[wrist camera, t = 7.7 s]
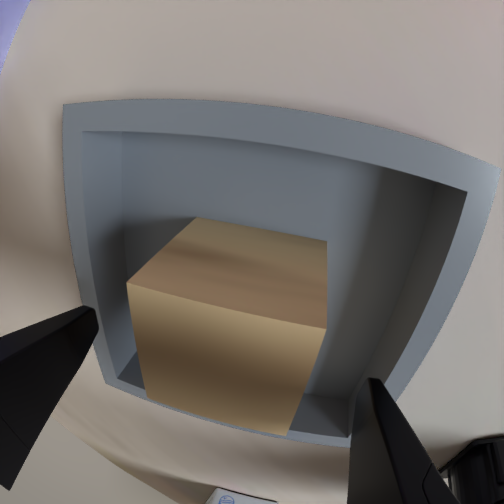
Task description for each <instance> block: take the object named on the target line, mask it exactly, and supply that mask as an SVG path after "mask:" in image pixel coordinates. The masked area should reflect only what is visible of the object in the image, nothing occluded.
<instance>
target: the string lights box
mask: <svg viewBox="0 0 504 504" xmlns="http://www.w3.org/2000/svg"><path fill="white" fill-rule="evenodd" d="M205 504H279V503H277V502H272V501H267V500H263V499H258V498H254V497H250V496H246V495H242V494H238V493H234V492H230V491H227V490H224V489H220V488H216V489H215V490H214V492H213V493H212V495H211V496H210V497H209V499H208V500H207V501H206V503H205Z"/></svg>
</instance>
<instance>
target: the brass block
mask: <svg viewBox="0 0 504 504" xmlns="http://www.w3.org/2000/svg"><path fill="white" fill-rule="evenodd" d="M126 284H127V291H128V299H129V306H130V313H131V319H132V325H133V331H134V337H135V342H136V348H137V353H138V358H139V363H140V368H141V373H142V377H143V382H144V386H145V390H146V395H147V398H149V399H151V400H154V401H157V402H160V403H162V404H165V405H168V406H171V407H174V408H177V409H180V410H183V411H186V412H189V413H192V414H196V415H199V416H202V417H206V418H209V419H213V420H216V421H220V422H224V423H228V424H232V425H236V426H240V427H244V428H248V429H252V430H257V431H262V432H266V433H271V434H276V435H282V436H286V435H287V432H288V430H289V428H290V425H291V423H292V420H293V418H294V416H295V413H296V411H297V408H298V406H299V403H300V401H301V398H302V396H303V393H304V391H305V388H306V385H307V383H308V380H309V377H310V375H311V372H312V369H313V367H314V364H315V361H316V358H317V356H318V353H319V350H320V347H321V344H322V341H323V338H324V335H325V332H326V329H327V241H323V240H318V239H313V238H308V237H303V236H297V235H292V234H287V233H282V232H277V231H271V230H266V229H261V228H255V227H250V226H244V225H239V224H233V223H228V222H222V221H217V220H211V219H205V218H199V217H196V218H195V219H194V220H193V221H192V222H191V223H190V224H189V225H187V226H186V227H185V228H184V229H183V230H182V231H181V232H180V233H179V234H177V235H176V236H175V237H174V238H173V239H172V240H171V241H170V242H169V243H168V244H166V245H165V246H164V247H163V248H162V249H161V250H160V251H159V252H158V253H157V254H156V255H155V256H154V257H152V258H151V259H150V260H149V261H148V262H147V263H146V264H145V265H144V266H143V267H142V268H141V269H140V270H139V271H138V272H137V273H136V274H135V275H134V276H133V277H131V278H130V279H129V280H128V281H127V282H126Z"/></svg>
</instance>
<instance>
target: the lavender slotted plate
mask: <svg viewBox="0 0 504 504" xmlns="http://www.w3.org/2000/svg"><path fill="white" fill-rule="evenodd" d="M29 2H30V0H0V74H1V71H2V68H3V65H4V62H5V59H6V56H7V53H8V51H9V48H10V45H11V43H12V40H13V38H14V35H15V33H16V30H17V28H18V26H19V24H20V21H21V19H22V17H23V15H24V13H25V10H26V8H27V6H28V4H29Z"/></svg>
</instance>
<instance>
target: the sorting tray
mask: <svg viewBox="0 0 504 504" xmlns="http://www.w3.org/2000/svg"><path fill="white" fill-rule="evenodd" d="M62 137H63V172H64V187H65V200H66V210H67V219H68V227H69V234H70V241H71V248H72V254H73V260H74V266H75V271H76V276H77V281H78V286H79V291H80V295H81V300H82V304H83V305H86V306H89V307H92V308H94V309H95V311H96V315H97V319H98V324H99V331H98V334H97V336H96V337H95V339H94V341H93V346H94V349H95V352H96V356H97V359H98V362H99V365H100V368H101V371H102V374H103V377H104V380H105V383H106V384H109V385H111V386H113V387H115V388H118V389H120V390H122V391H125V392H127V393H130V394H132V395H134V396H137V397H139V398H142V399H145V400H147V401H150V402H152V403H155V404H158V405H161V406H163V407H166V408H169V409H172V410H175V411H178V412H181V413H184V414H187V415H190V416H193V417H197V418H200V419H203V420H207V421H210V422H214V423H217V424H221V425H224V426H228V427H232V428H236V429H240V430H244V431H249V432H253V433H257V434H262V435H267V436H272V437H277V438H282V439H288V440H293V441H299V442H306V443H313V444H320V445H328V446H336V447H346V448H350V441H351V434H352V427H353V419H354V411H355V403H356V397H357V394H358V392H359V390H360V389H361V387H362V385H363V383H364V381H365V380H366V379H367V378H368V377H372V378H379V379H380V380H381V381H382V382H383V384H384V385H385V387H386V388H387V390H388V391H389V393H390V395H391V396H392V398H393V399H394V401H395V402H396V401H397V399H398V398H399V396H400V395H401V393H402V392H403V391H404V389H405V388H406V386H407V385H408V383H409V382H410V380H411V378H412V377H413V375H414V374H415V372H416V371H417V369H418V367H419V366H420V364H421V363H422V361H423V359H424V358H425V356H426V354H427V353H428V351H429V349H430V347H431V346H432V344H433V342H434V340H435V339H436V337H437V335H438V333H439V331H440V330H441V328H442V326H443V324H444V322H445V320H446V318H447V316H448V314H449V312H450V310H451V308H452V306H453V304H454V302H455V300H456V298H457V296H458V293H459V291H460V289H461V287H462V285H463V282H464V280H465V278H466V275H467V273H468V271H469V268H470V266H471V263H472V261H473V258H474V256H475V253H476V251H477V248H478V245H479V243H480V240H481V237H482V234H483V231H484V228H485V225H486V222H487V219H488V216H489V213H490V210H491V206H492V203H493V200H494V196H495V192H496V189H497V185H498V181H499V177H500V173H501V168H498V167H496V166H494V165H492V164H489V163H487V162H484V161H482V160H479V159H477V158H474V157H472V156H469V155H467V154H464V153H461V152H459V151H456V150H453V149H451V148H448V147H445V146H442V145H439V144H436V143H433V142H430V141H427V140H424V139H421V138H417V137H414V136H411V135H407V134H404V133H400V132H397V131H393V130H390V129H386V128H382V127H378V126H374V125H370V124H366V123H362V122H357V121H353V120H348V119H344V118H339V117H334V116H329V115H324V114H318V113H313V112H307V111H301V110H294V109H288V108H281V107H273V106H265V105H257V104H247V103H237V102H224V101H209V100H187V99H131V100H110V101H95V102H83V103H73V104H65V105H63V132H62ZM196 217H199V218H205V219H211V220H217V221H222V222H228V223H233V224H239V225H244V226H250V227H255V228H261V229H266V230H271V231H277V232H282V233H287V234H292V235H297V236H303V237H308V238H313V239H318V240H323V241H327V329H326V332H325V335H324V338H323V341H322V344H321V347H320V350H319V353H318V356H317V358H316V361H315V364H314V367H313V369H312V372H311V375H310V377H309V380H308V383H307V385H306V388H305V391H304V393H303V396H302V398H301V401H300V403H299V406H298V408H297V411H296V413H295V416H294V418H293V420H292V423H291V425H290V428H289V430H288V432H287V435H286V436H282V435H276V434H271V433H266V432H262V431H257V430H252V429H248V428H244V427H240V426H236V425H232V424H228V423H224V422H220V421H216V420H213V419H209V418H206V417H202V416H199V415H196V414H192V413H189V412H186V411H183V410H180V409H177V408H174V407H171V406H168V405H165V404H162V403H160V402H157V401H154V400H151V399H149V398H147V395H146V390H145V386H144V382H143V377H142V373H141V368H140V363H139V358H138V353H137V348H136V342H135V337H134V331H133V325H132V319H131V313H130V306H129V299H128V291H127V284H126V282H127V281H128V280H129V279H130V278H131V277H133V276H134V275H135V274H136V273H137V272H138V271H139V270H140V269H141V268H142V267H143V266H144V265H145V264H146V263H147V262H148V261H149V260H150V259H151V258H152V257H154V256H155V255H156V254H157V253H158V252H159V251H160V250H161V249H162V248H163V247H164V246H165V245H166V244H168V243H169V242H170V241H171V240H172V239H173V238H174V237H175V236H176V235H177V234H179V233H180V232H181V231H182V230H183V229H184V228H185V227H186V226H187V225H189V224H190V223H191V222H192V221H193V220H194V219H195V218H196Z"/></svg>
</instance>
